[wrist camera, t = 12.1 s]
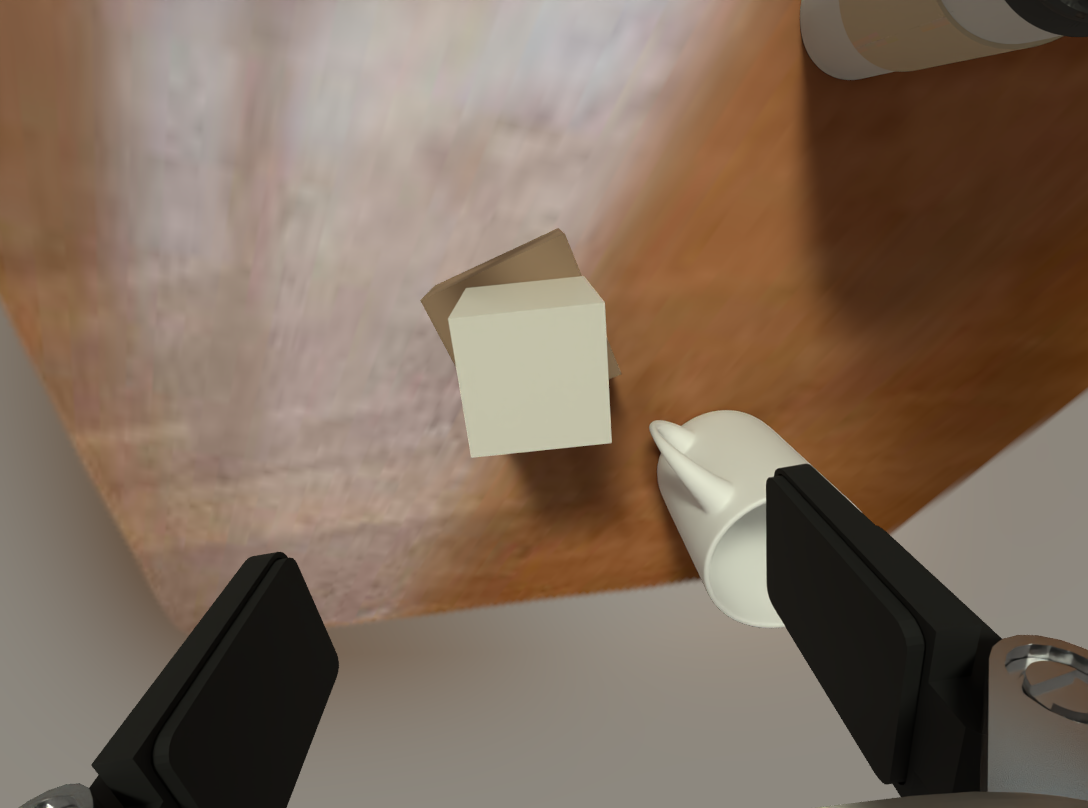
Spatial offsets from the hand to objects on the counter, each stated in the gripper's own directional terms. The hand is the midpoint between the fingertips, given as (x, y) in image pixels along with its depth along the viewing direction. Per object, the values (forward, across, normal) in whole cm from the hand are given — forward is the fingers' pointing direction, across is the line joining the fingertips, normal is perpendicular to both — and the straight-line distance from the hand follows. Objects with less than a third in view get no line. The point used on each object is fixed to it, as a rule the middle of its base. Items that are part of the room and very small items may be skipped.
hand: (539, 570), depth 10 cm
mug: (+23, -10, +11) cm, 28 cm away
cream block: (+18, 0, 0) cm, 18 cm away
